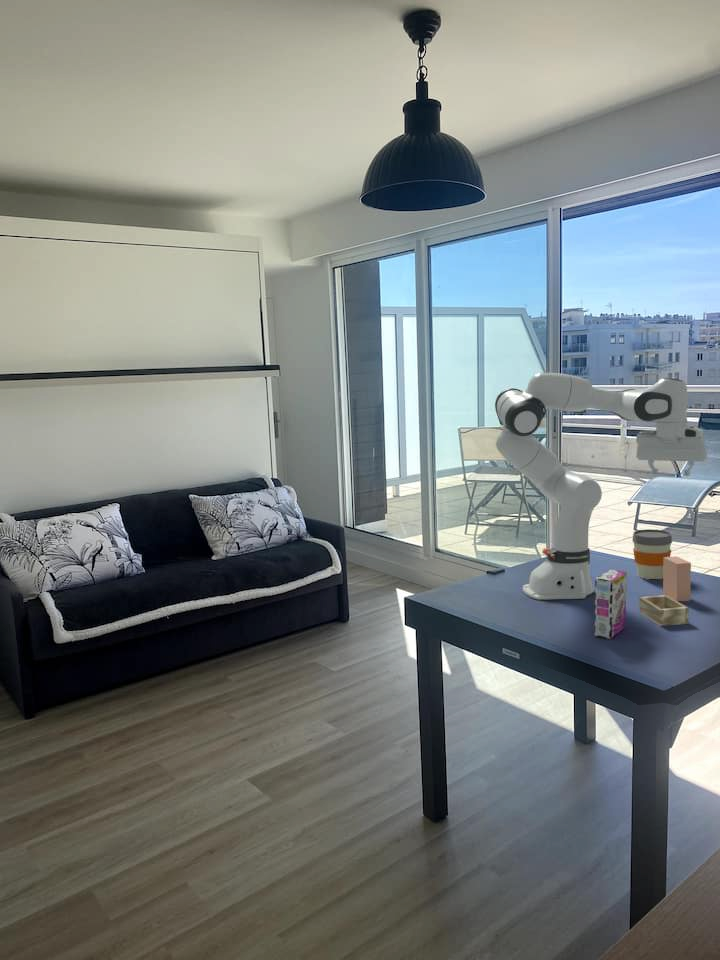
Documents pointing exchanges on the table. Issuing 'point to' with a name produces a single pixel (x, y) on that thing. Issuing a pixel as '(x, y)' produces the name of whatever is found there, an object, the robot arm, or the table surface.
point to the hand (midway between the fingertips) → (670, 475)
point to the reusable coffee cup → (651, 552)
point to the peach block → (676, 578)
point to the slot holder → (663, 610)
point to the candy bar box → (610, 603)
